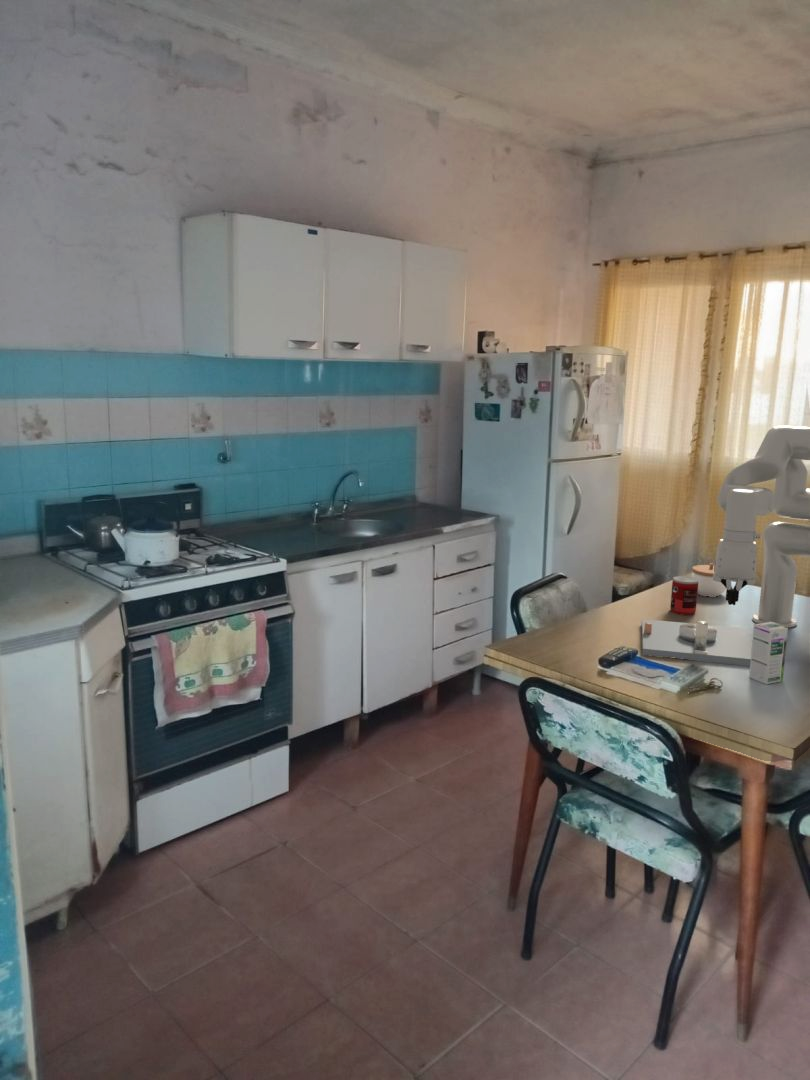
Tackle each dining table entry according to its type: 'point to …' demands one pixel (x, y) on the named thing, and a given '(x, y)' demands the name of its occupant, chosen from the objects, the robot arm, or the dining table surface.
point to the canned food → (684, 595)
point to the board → (667, 643)
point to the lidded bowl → (707, 581)
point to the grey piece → (698, 634)
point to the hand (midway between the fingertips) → (731, 603)
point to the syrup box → (768, 652)
